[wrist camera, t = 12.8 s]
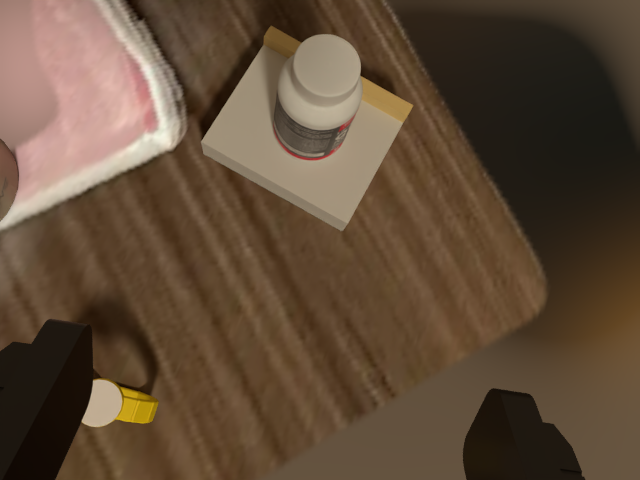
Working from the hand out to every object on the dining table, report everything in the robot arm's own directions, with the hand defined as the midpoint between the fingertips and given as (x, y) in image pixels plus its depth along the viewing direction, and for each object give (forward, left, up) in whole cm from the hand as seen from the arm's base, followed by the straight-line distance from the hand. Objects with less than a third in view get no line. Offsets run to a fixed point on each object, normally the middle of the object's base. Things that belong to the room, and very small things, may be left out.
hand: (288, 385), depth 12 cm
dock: (-6, +17, -31) cm, 35 cm away
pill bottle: (-5, +17, -28) cm, 33 cm away
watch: (-8, -6, -31) cm, 32 cm away
